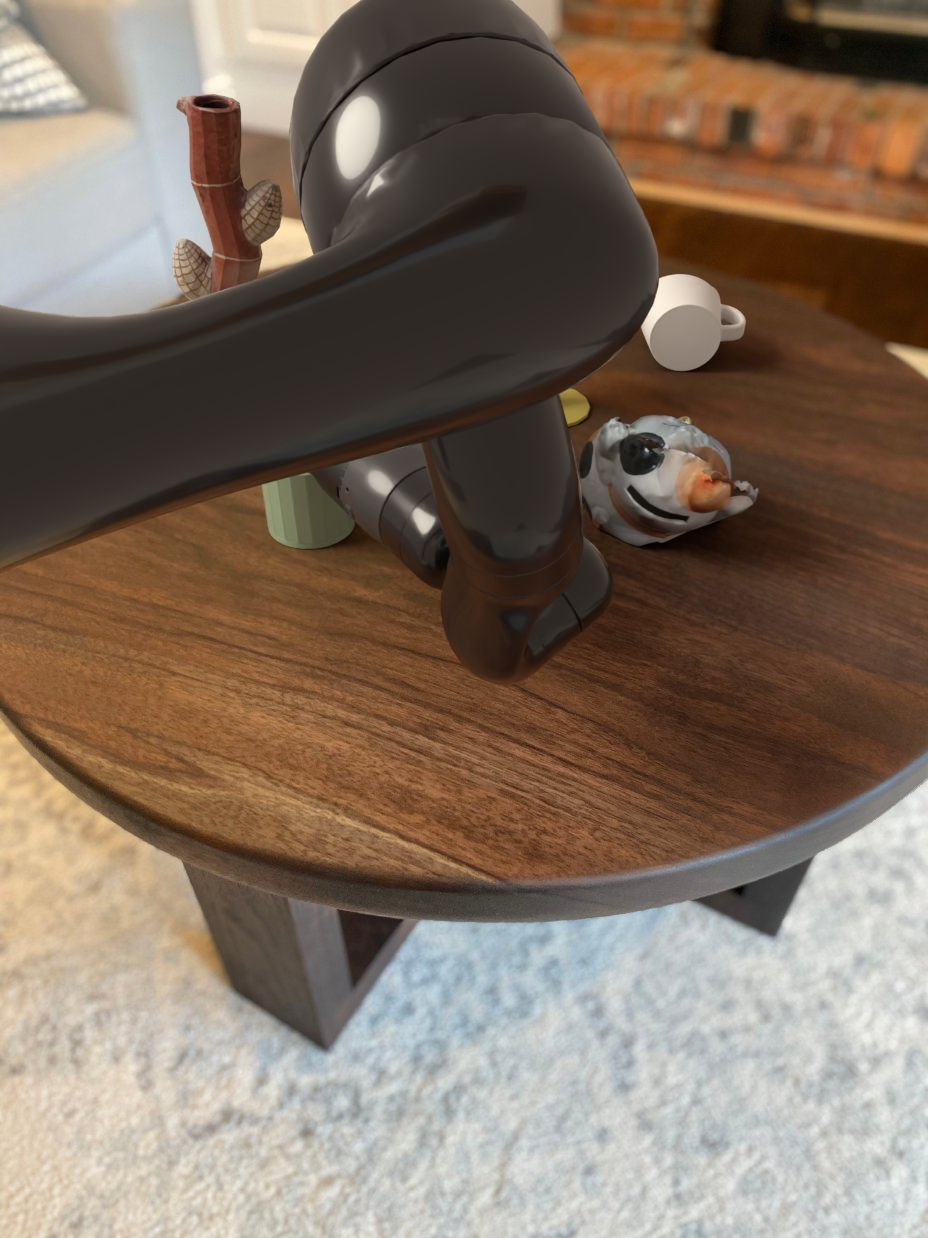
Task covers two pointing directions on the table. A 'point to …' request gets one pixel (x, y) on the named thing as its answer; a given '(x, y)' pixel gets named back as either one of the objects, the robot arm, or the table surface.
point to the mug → (689, 322)
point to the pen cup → (304, 513)
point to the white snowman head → (658, 479)
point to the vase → (223, 202)
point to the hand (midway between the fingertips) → (283, 388)
